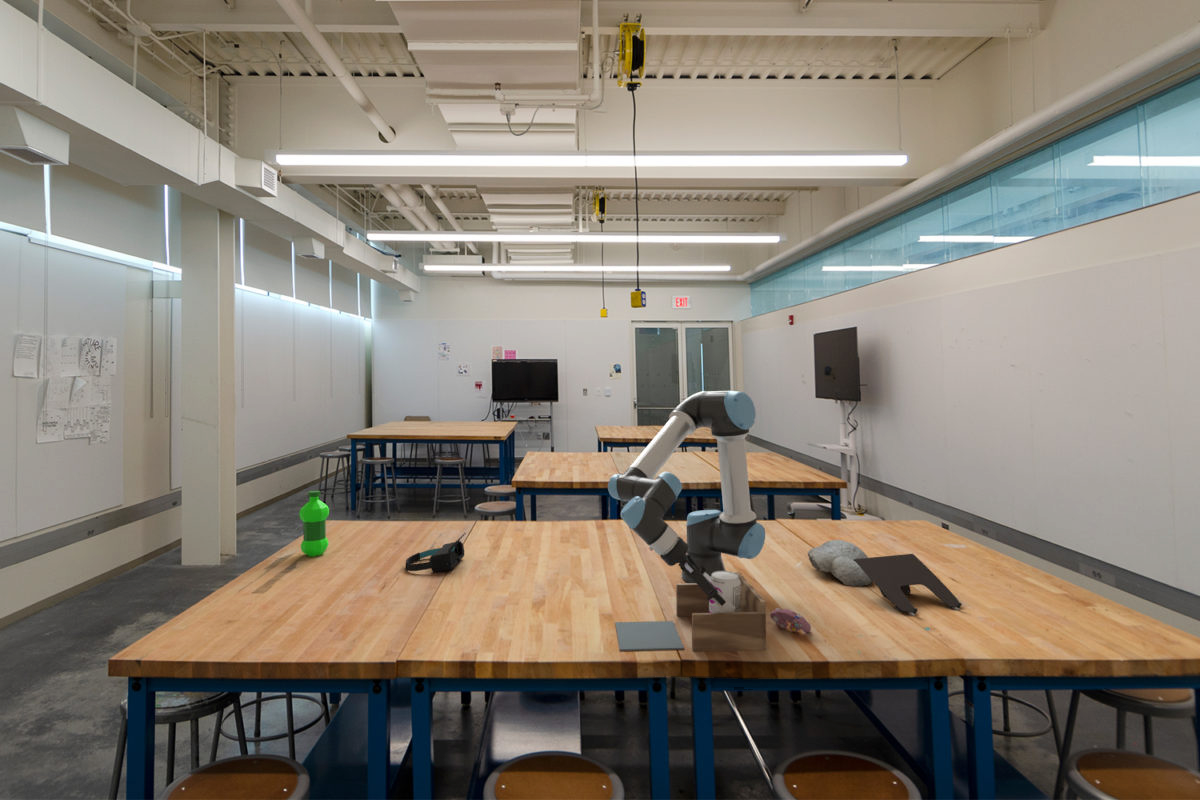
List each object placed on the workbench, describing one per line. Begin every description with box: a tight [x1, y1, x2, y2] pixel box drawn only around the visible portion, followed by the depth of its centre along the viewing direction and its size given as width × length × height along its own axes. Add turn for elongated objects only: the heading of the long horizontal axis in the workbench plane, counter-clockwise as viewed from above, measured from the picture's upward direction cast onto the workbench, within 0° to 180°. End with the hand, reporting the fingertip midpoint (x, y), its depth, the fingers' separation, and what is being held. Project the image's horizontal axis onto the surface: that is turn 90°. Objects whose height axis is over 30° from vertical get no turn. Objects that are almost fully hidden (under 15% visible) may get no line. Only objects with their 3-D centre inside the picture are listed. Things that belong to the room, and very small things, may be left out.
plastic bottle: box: [298, 490, 330, 557], centre depth 218 cm, size 10×10×25 cm
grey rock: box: [807, 539, 873, 587], centre depth 196 cm, size 28×21×9 cm
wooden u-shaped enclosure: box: [675, 571, 767, 652], centre depth 148 cm, size 22×18×12 cm
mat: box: [614, 620, 685, 652], centre depth 145 cm, size 16×16×1 cm
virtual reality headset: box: [404, 532, 466, 573], centre depth 204 cm, size 19×22×10 cm
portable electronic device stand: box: [854, 553, 963, 617], centre depth 170 cm, size 23×23×9 cm
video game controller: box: [769, 607, 812, 634], centre depth 148 cm, size 10×5×7 cm, turn 45°
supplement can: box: [709, 570, 741, 613], centre depth 148 cm, size 8×8×15 cm
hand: (724, 601), depth 147 cm, fingers open, 13 cm apart
